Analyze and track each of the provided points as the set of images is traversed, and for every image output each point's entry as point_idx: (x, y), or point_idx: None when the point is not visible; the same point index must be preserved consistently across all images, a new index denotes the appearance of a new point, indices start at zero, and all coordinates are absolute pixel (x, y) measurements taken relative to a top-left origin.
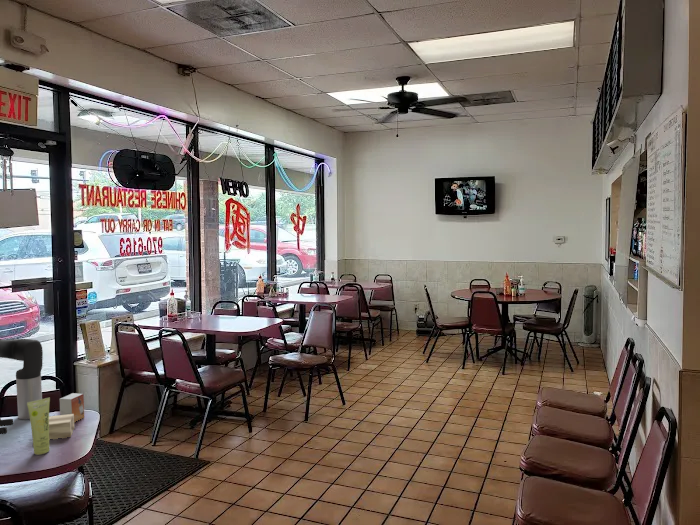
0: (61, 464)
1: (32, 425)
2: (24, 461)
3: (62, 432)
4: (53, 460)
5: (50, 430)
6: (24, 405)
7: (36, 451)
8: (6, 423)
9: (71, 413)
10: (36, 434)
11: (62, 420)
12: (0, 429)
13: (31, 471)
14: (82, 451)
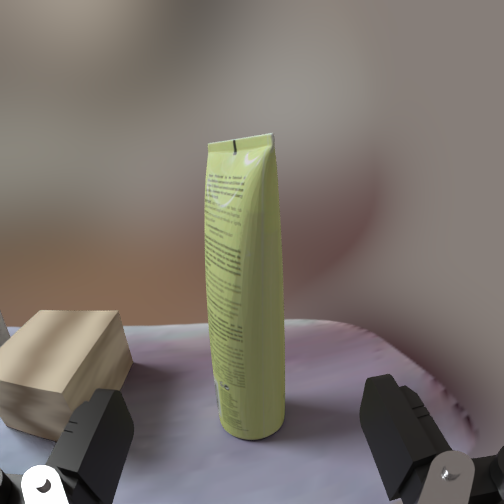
0: (380, 341)
1: (279, 303)
2: (351, 447)
3: (119, 359)
4: (348, 365)
5: (98, 375)
6: None
7: (281, 416)
8: (111, 454)
9: (5, 326)
10: (284, 343)
11: (77, 326)
12: (410, 410)
13: (440, 385)
14: (284, 325)
